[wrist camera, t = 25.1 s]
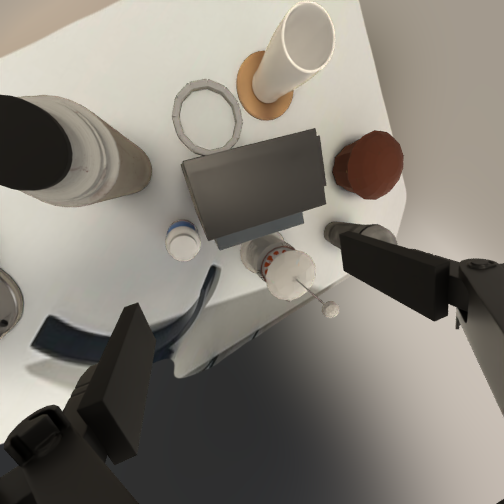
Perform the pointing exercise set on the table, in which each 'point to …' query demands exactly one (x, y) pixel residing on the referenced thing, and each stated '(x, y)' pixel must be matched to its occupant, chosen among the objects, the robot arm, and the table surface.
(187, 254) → the pill bottle
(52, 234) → the table surface
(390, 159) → the muffin
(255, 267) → the french press
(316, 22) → the drinking glass
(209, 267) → the table surface
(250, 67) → the disc
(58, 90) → the table surface
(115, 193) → the thermos bottle
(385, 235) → the beverage cup
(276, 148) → the coffee maker
